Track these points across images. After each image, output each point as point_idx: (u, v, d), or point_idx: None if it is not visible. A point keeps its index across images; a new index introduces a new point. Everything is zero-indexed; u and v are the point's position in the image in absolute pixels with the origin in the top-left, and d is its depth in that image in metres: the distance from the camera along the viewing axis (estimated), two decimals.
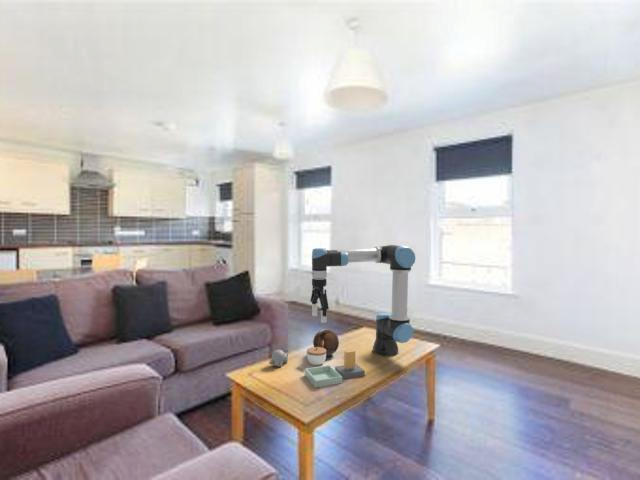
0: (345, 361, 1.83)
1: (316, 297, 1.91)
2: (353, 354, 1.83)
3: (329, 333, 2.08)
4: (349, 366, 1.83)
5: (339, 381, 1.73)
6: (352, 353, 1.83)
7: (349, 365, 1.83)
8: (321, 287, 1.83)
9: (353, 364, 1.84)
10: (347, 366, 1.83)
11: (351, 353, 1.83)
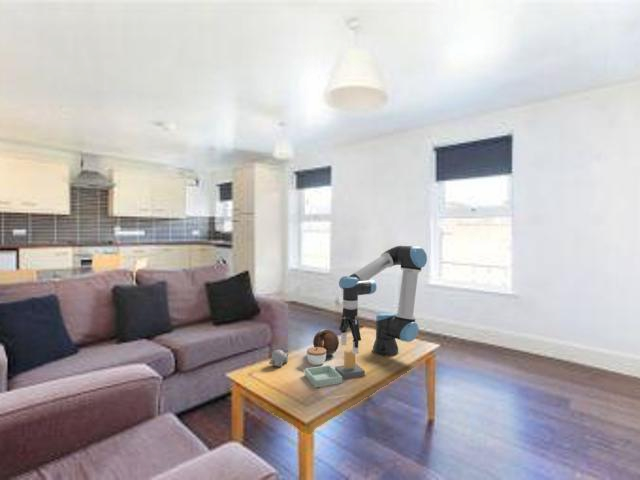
0: (345, 361, 1.83)
1: (346, 326, 1.87)
2: (353, 354, 1.83)
3: (329, 333, 2.08)
4: (349, 366, 1.83)
5: (339, 381, 1.73)
6: (352, 353, 1.83)
7: (349, 365, 1.83)
8: (353, 317, 1.80)
9: (353, 364, 1.84)
10: (347, 366, 1.83)
11: (351, 353, 1.83)
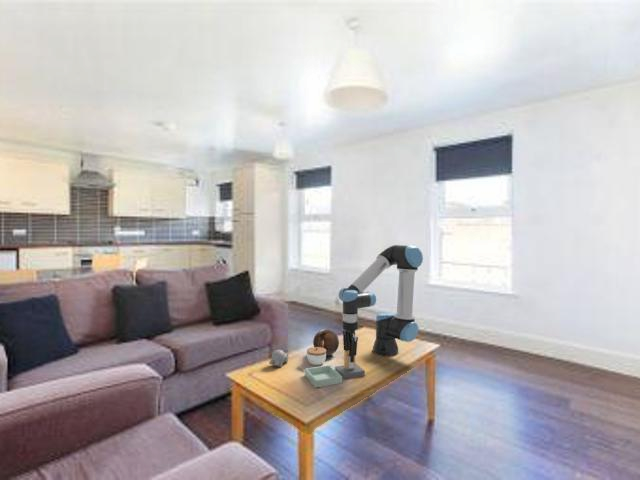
0: (345, 361, 1.83)
1: (348, 342, 1.85)
2: None
3: (329, 333, 2.08)
4: None
5: (339, 381, 1.73)
6: None
7: None
8: (353, 331, 1.80)
9: None
10: (347, 366, 1.83)
11: None
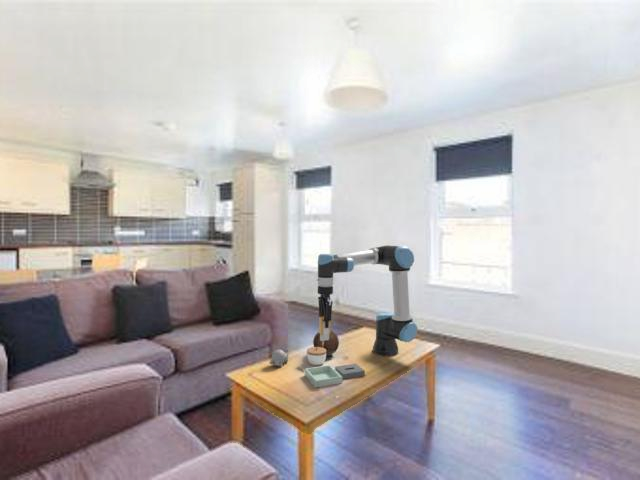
0: (320, 327, 1.76)
1: (324, 308, 1.78)
2: None
3: (329, 333, 2.08)
4: None
5: (339, 381, 1.73)
6: None
7: None
8: (327, 295, 1.73)
9: None
10: (322, 332, 1.76)
11: None
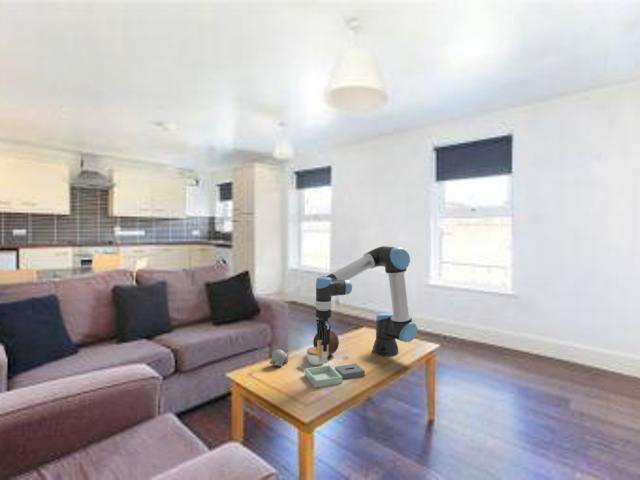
0: (318, 350, 1.77)
1: (322, 331, 1.79)
2: None
3: None
4: None
5: (339, 381, 1.73)
6: None
7: None
8: (325, 319, 1.74)
9: None
10: (320, 355, 1.76)
11: None
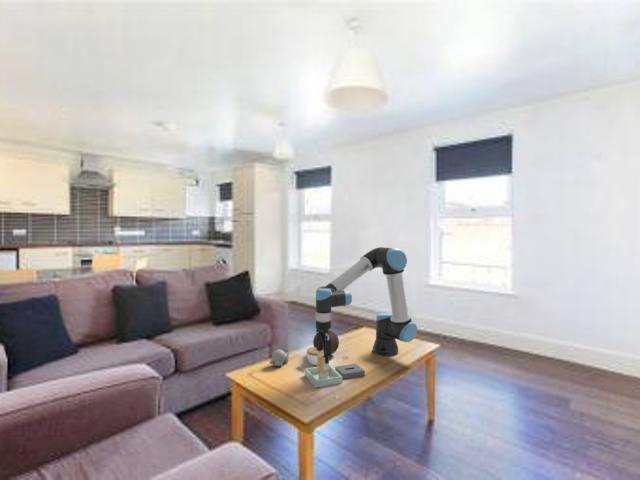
0: (318, 366, 1.77)
1: (321, 341, 1.80)
2: None
3: (329, 333, 2.08)
4: (322, 371, 1.77)
5: (339, 381, 1.73)
6: None
7: (322, 370, 1.77)
8: (325, 330, 1.74)
9: None
10: (320, 371, 1.76)
11: None
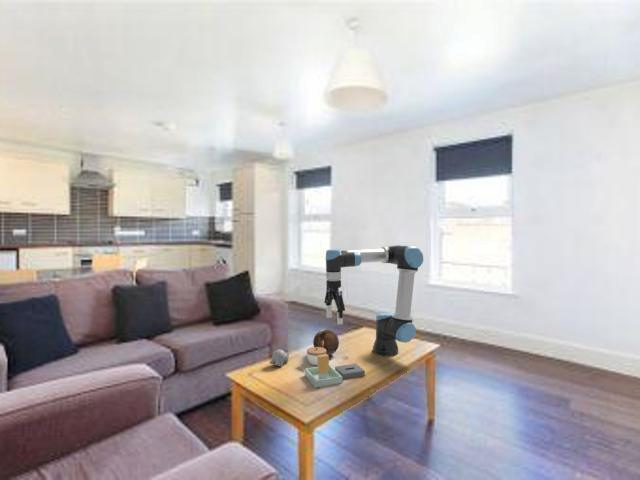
0: (318, 366, 1.77)
1: (330, 298, 1.89)
2: (326, 358, 1.77)
3: (329, 333, 2.08)
4: (322, 371, 1.77)
5: (339, 381, 1.73)
6: (325, 357, 1.77)
7: (322, 370, 1.77)
8: (336, 289, 1.81)
9: (326, 369, 1.77)
10: (320, 371, 1.76)
11: (324, 357, 1.77)
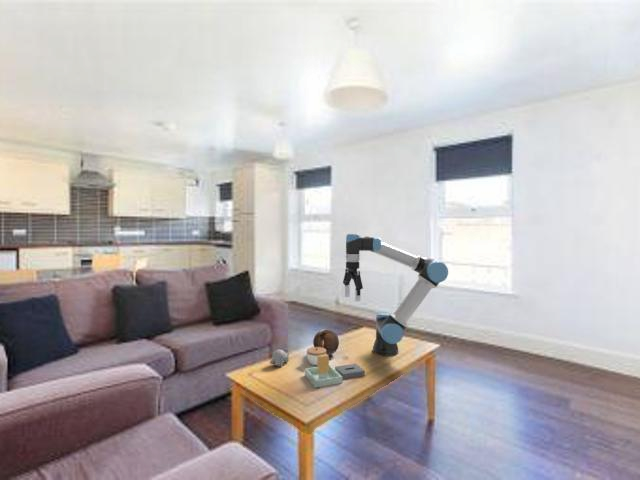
0: (318, 366, 1.77)
1: (349, 279, 2.07)
2: (326, 358, 1.77)
3: (329, 333, 2.08)
4: (322, 371, 1.77)
5: (339, 381, 1.73)
6: (325, 357, 1.77)
7: (322, 370, 1.77)
8: (355, 269, 1.99)
9: (326, 369, 1.77)
10: (320, 371, 1.76)
11: (324, 357, 1.77)
